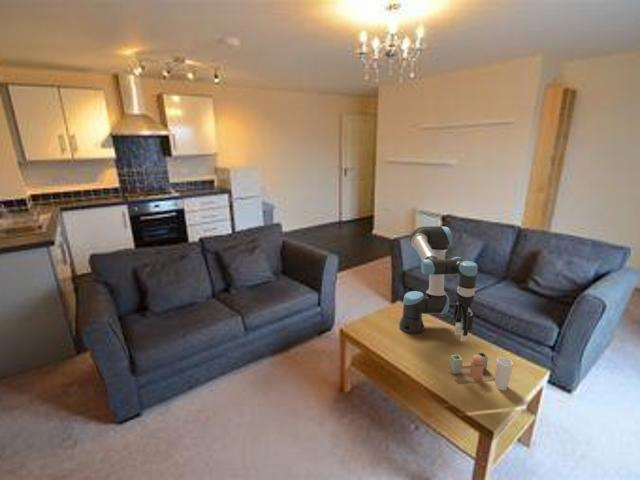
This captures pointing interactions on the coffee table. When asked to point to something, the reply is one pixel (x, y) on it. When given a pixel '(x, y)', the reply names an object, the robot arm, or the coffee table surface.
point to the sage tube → (455, 364)
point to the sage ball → (459, 327)
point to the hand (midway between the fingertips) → (460, 337)
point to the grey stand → (484, 359)
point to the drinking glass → (503, 372)
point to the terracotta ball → (478, 359)
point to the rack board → (466, 378)
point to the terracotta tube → (476, 371)
